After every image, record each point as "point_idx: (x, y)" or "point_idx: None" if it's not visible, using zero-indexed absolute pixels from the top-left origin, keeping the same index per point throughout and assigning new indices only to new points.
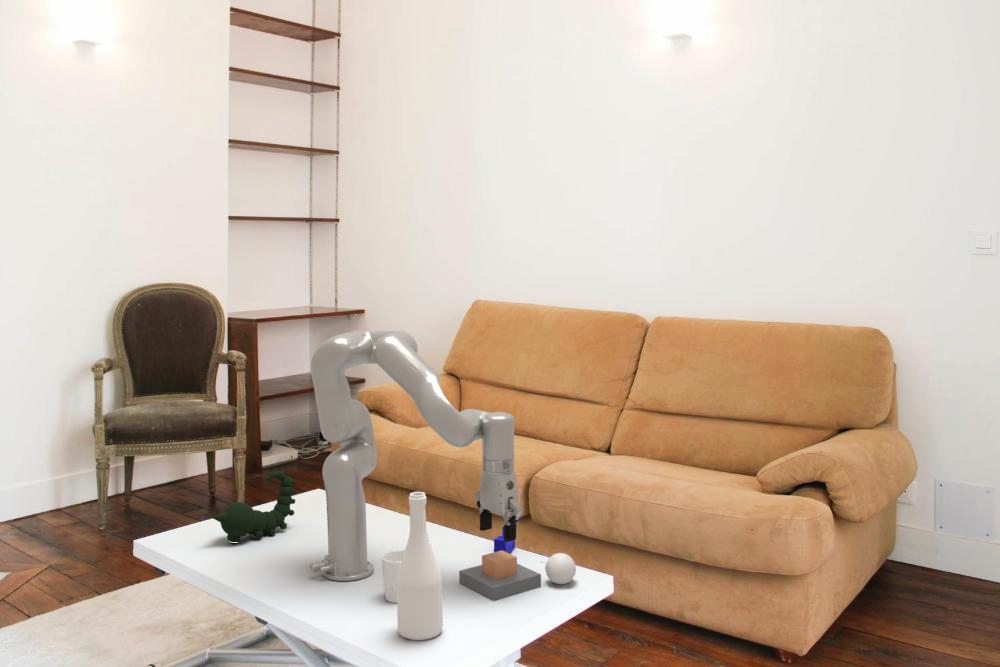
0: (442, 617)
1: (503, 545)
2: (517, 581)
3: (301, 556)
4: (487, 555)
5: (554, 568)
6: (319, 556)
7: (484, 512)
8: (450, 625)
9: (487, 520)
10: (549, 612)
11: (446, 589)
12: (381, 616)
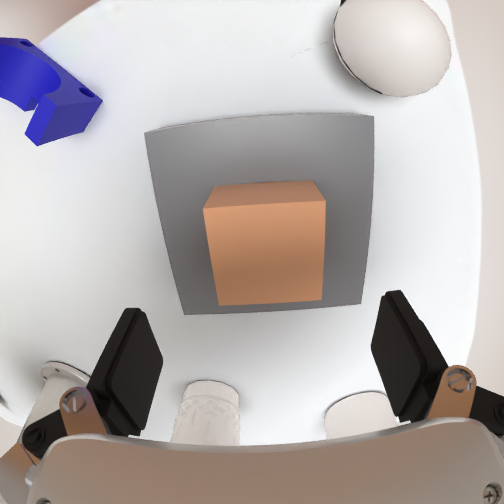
0: (388, 410)
1: (66, 111)
2: (370, 221)
3: (21, 384)
4: (229, 289)
5: (426, 91)
6: (20, 374)
7: (125, 433)
8: (374, 378)
9: (137, 375)
10: (478, 214)
11: (216, 330)
12: (269, 424)
